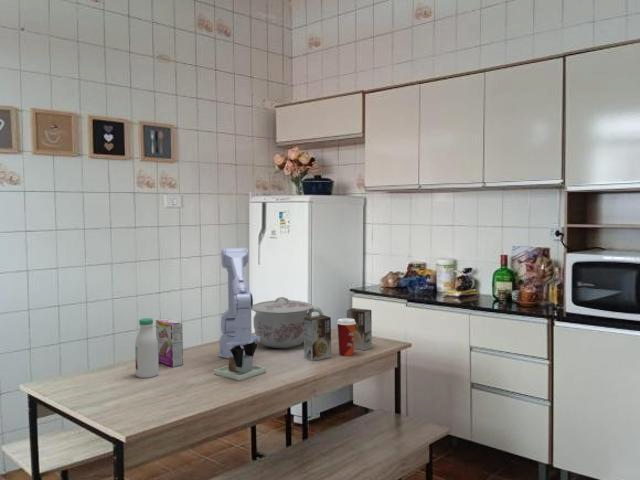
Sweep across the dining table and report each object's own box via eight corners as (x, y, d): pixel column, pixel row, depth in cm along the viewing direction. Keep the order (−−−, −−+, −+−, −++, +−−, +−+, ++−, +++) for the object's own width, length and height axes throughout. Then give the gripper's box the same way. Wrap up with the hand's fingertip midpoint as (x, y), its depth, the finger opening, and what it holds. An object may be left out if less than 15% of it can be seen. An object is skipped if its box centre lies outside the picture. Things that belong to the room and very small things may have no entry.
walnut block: (228, 370, 203) (228, 357, 203) (237, 368, 207) (236, 354, 206) (236, 372, 201) (236, 358, 201) (244, 370, 204) (244, 356, 204)
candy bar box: (155, 362, 217) (155, 319, 216) (167, 359, 221) (166, 318, 220) (172, 367, 209) (171, 323, 209) (183, 365, 213) (182, 321, 212)
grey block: (236, 370, 199) (236, 356, 199) (244, 368, 203) (244, 354, 202) (244, 372, 197) (244, 358, 197) (252, 370, 200) (252, 356, 200)
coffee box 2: (372, 347, 238) (372, 309, 237) (365, 350, 233) (365, 312, 232) (353, 344, 243) (353, 307, 243) (346, 347, 238) (345, 309, 237)
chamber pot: (236, 345, 243) (235, 297, 242) (282, 334, 263) (281, 290, 262) (283, 356, 224) (282, 304, 223) (328, 344, 245) (327, 296, 244)
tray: (213, 374, 201) (213, 369, 201) (240, 366, 211) (240, 361, 211) (239, 381, 193) (239, 376, 193) (265, 372, 203) (265, 367, 203)
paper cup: (354, 357, 223) (354, 322, 222) (335, 356, 225) (335, 321, 224) (357, 352, 231) (357, 318, 230) (338, 351, 232) (338, 317, 231)
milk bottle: (163, 373, 203) (161, 317, 202) (149, 379, 196) (148, 321, 194) (144, 371, 205) (143, 316, 204) (131, 377, 198) (129, 320, 197)
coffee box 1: (322, 354, 228) (322, 314, 227) (331, 357, 223) (331, 316, 222) (303, 357, 223) (303, 316, 222) (312, 361, 218) (312, 319, 217)
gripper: (235, 332, 191) (236, 372, 192) (265, 325, 202) (266, 362, 203) (221, 329, 195) (222, 368, 196) (251, 322, 207) (252, 359, 207)
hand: (243, 365), depth 200 cm, fingers open, 4 cm apart
